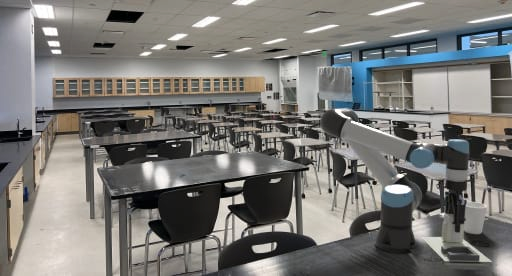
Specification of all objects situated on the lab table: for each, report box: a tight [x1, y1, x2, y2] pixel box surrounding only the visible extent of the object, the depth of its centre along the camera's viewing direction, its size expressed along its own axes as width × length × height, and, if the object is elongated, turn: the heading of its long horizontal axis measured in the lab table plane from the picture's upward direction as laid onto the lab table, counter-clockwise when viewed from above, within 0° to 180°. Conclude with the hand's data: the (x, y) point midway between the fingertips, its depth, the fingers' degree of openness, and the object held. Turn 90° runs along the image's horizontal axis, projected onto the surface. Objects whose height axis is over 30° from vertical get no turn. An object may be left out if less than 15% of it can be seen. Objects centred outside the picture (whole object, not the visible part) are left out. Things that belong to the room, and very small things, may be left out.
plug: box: [441, 213, 466, 242], centre depth 149 cm, size 8×4×10 cm, turn 86°
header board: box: [421, 236, 493, 267], centre depth 143 cm, size 16×23×4 cm
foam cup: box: [464, 201, 488, 235], centre depth 160 cm, size 10×9×13 cm
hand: (453, 237), depth 149 cm, fingers closed on plug, 4 cm apart
